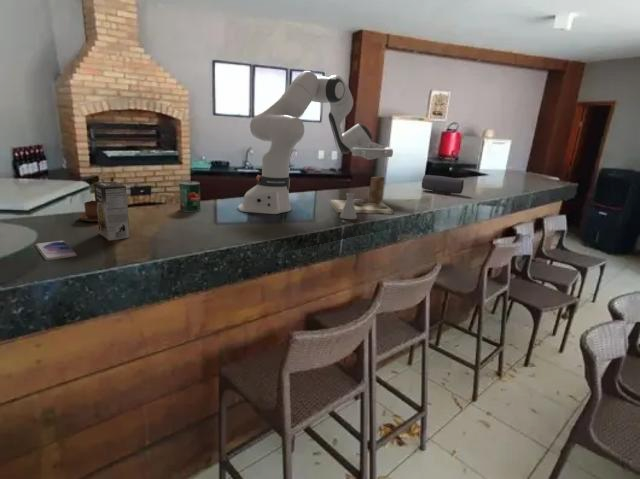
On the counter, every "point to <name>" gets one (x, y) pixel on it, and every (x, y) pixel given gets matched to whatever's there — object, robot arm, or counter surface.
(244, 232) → the counter surface
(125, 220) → the coffee box
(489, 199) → the counter surface
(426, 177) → the bluetooth speaker
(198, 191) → the canned tomato
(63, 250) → the smartphone
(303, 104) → the robot arm
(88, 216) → the cup and saucer
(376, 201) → the dial fin
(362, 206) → the dial board
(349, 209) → the flask
